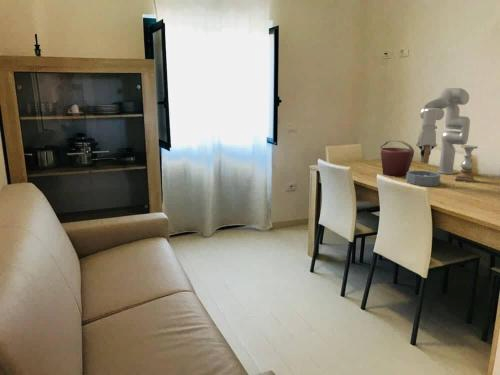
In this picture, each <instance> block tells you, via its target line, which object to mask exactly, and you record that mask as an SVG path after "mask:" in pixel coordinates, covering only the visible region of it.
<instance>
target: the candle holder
mask: <svg viewBox="0 0 500 375" xmlns="http://www.w3.org/2000/svg"><path fill="white" fill-rule="evenodd" d="M460 148H462V149H463V150H464V151H465V152H464V154H463V156H464V159H463V161H462V162H461V163H460V167H461V169H460V173H458V174H456V176H455V180H454V181H455V182H460V181H465V182H464V183H470V182H473V183H474V180H475V177H474V175H472V174H471V169H473V162H472V160H471V158H472V157H473V154H472V152H473V151H474V150H475V149H478V146H477V145H468V144H465V145H461V146H460Z"/></svg>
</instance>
